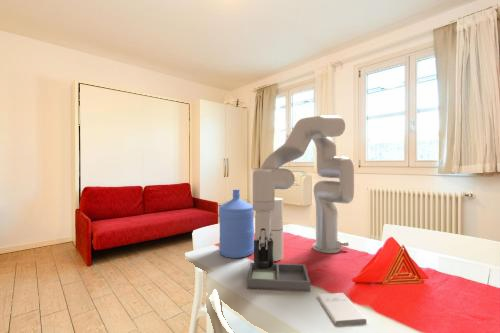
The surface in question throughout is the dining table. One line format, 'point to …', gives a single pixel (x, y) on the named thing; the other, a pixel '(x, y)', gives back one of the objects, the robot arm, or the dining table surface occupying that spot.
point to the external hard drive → (341, 309)
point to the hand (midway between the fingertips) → (263, 256)
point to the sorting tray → (279, 277)
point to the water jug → (236, 228)
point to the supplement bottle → (270, 254)
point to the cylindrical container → (277, 229)
